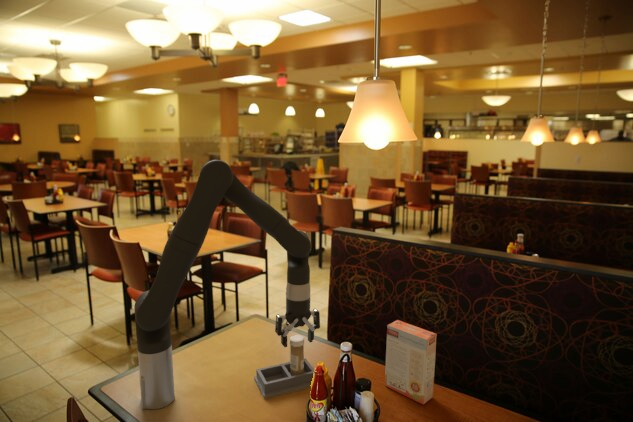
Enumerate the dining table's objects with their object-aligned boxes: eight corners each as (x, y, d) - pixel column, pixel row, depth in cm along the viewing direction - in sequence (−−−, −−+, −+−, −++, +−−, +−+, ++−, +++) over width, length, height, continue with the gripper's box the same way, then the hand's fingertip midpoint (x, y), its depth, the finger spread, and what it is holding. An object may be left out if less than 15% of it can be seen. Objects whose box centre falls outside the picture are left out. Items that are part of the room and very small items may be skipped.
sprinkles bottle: (306, 377, 135) (306, 339, 133) (294, 382, 133) (294, 342, 130) (299, 371, 139) (299, 333, 136) (287, 375, 136) (287, 336, 134)
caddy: (264, 398, 126) (264, 386, 125) (254, 379, 136) (254, 368, 135) (319, 384, 133) (319, 373, 132) (305, 367, 143) (305, 356, 142)
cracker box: (433, 397, 127) (437, 333, 123) (423, 406, 123) (427, 340, 119) (394, 378, 137) (397, 318, 133) (383, 386, 133) (386, 324, 129)
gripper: (280, 303, 124) (280, 353, 127) (324, 296, 130) (323, 345, 133) (272, 294, 131) (272, 342, 134) (314, 288, 137) (313, 334, 140)
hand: (297, 343), depth 133 cm, fingers open, 8 cm apart
